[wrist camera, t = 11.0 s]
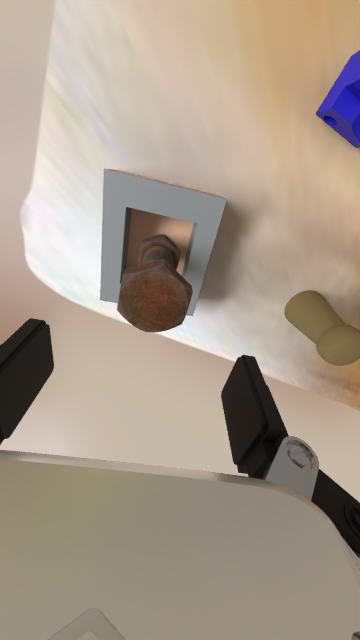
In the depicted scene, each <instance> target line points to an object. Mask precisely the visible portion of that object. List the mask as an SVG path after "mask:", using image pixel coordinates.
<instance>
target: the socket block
mask: <svg viewBox="0 0 360 640" xmlns="http://www.w3.org/2000/svg"><path fill="white" fill-rule="evenodd" d="M226 201H227V200H226V199H224V198H222V197H220V196H218V195H214V194H210V193H206V192H202V191H198V190H194V189H190V188H186V187H182V186H178V185H174V184H170V183H166V182H162V181H158V180H154V179H151V178H147V177H143V176H139V175H135V174H131V173H127V172H123V171H119V170H113V169H104V187H103V221H102V256H101V290H100V300H103V301H109V302H115V303H118V298H119V292H120V286H121V281H122V277H123V273H124V271H125V269H127V268H131V267H135V266H138V265H137V264H138V258H139V253H140V248H141V243H142V240H144V239H147V238H150V237H153V236H155V235H158V234H161V235H163V234H165V235H166V236H167V237H168V238H169V239H170V240H171V241H172V242H173V243H174V244H175V245H176V246H177V247H178V248H179V249H180V251H181V256H180V260H179V264H178V267H177V272H178V273H179V274H180V275H181V276H182V277H183V278H184V279H185V280H186V281H187V282H188V283H189V284H190V285H192V290H193V293H192V297H191V301H190V304H189V307H188V311H187V314H186V315H189V316H193V313H194V310H195V307H196V303H197V300H198V296H199V293H200V290H201V286H202V283H203V279H204V276H205V272H206V269H207V266H208V262H209V259H210V255H211V252H212V248H213V245H214V242H215V238H216V235H217V231H218V228H219V225H220V221H221V218H222V214H223V211H224V207H225V204H226Z"/></svg>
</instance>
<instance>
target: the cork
mask: <svg viewBox="0 0 360 640" xmlns="http://www.w3.org/2000/svg"><path fill="white" fill-rule="evenodd" d="M285 316H286V318H287V319H288V321H289V322H291V323H292V324H293V325H294V326H295V327H296V328H298V329H299V330H300V331H301V332H302V333H303V334H305V335H306V336H307V337H308V338H309V339H310V340H311V341H313V342H314V343H315V344H316V348H317V351H318V354H319V355H320V356H321V357H322V358H323V359H324V360H325V361H326V362H328V363H330V364H333V365H338V366H342V365H347V364H350V363H353V362H355V361H357V360H358V359H359V358H360V331H359V330H358V329H356V328H354V327H352V326H350V325H345V324H344V322H343V321H342V320H341V319H340V317H339V316H338V315H337V314H336V312H335V311H334V310H333V309H332V307H331V306H330V305H329V304H328V303H327V301H326V300H325V299H324V298H323V296H322V295H321V294H320V293H318V292H316V291H303V292H301V293H299V294H297V295H295V296H294V297H293V298H291V300H290V301H289V302H288V303H287V305H286V307H285Z"/></svg>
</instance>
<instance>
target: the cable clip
mask: <svg viewBox="0 0 360 640" xmlns="http://www.w3.org/2000/svg"><path fill="white" fill-rule="evenodd" d="M316 115H317V116H319V117H320V118H321V119H322V120H323V121H325V122H326V123H327V124H328V125H329V126H331V127H332V128H333V129H334V130H335V131H337V132H338V133H339V134H340V135H341V136H343V137H344V138H345V139H346V140H347V141H349V142H350V143H351V144H352V145H353V146H355V147H360V51H358V52H357V53H355V54H354V55H352V56H351V58H350V59H349V61H348V62H347V64H346V66H345V67H344V69H343V70H342V72H341V74H340V75H339V77H338V79H337V80H336V82H335V83H334V85H333V87H332V88H331V90H330V91H329V93H328V95H327V96H326V98H325V99H324V101H323V103H322V104H321V106H320V107H319V109H318V111H317V112H316Z"/></svg>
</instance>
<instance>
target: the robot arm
mask: <svg viewBox="0 0 360 640" xmlns="http://www.w3.org/2000/svg"><path fill="white" fill-rule="evenodd" d="M53 368H54V362H53V353H52V345H51V336H50V327H49V325H48V324H46V322H45V321H44V320H38V319H32V318H31V319H29V320H28V321H27V322H25V323H24V324H23V325H22V326H21V327H20V328H19V329H18V330H17V331H16V332H15V333H14V334H13V335H12V336H11V337H10V338H8V339H7V341H5V342H4V343H3V344H1V345H0V444H1V443H2V441H3V440H4V439H7V438H9V437H10V436H11V434H12V433H13V431H14V430H15V428H16V427H17V425H18V424H19V422H20V421H21V419H22V417H23V416H24V415H25V413H26V411H27V410H28V408H29V407H30V405H31V404H32V402H33V401H34V399H35V398H36V396H37V394H38V393H39V391H40V390H41V389H42V387H43V385H44V384H45V382H46V381H47V379H48V378H49V376H50V375H51V373H52V371H53ZM221 398H222V404H223V409H224V414H225V420H226V425H227V431H228V436H229V441H230V446H231V452H232V458H233V462H234V464H235V465H237V468H238V472H239V473H246V474H248V476H249V477H245V476H237V475H229V474H222V473H215V472H206V471H197V470H188V469H179V468H171V467H162V466H153V465H144V464H134V463H125V462H116V461H107V460H97V459H88V458H78V457H68V456H58V455H49V454H39V453H30V452H18V451H6V450H0V640H360V503H359V502H358V501H357V500H356V499H354V498H353V497H352V496H351V495H350V494H349V493H347V492H346V491H345V490H344V489H343V488H341V487H340V486H339V485H338V484H337V483H335V482H334V481H333V480H332V479H331V478H329V477H328V476H327V475H326V474H325V473H324V472H322V471H321V470H320V469H319V462H318V458H317V456H316V454H315V452H314V451H313V450H312V448H311V447H310V446H309V445H308V444H307V443H305V442H304V441H303V440H301V439H299V438H297V437H294V436H289V435H288V433H287V431H286V428H285V426H284V423H283V421H282V419H281V416H280V414H279V411H278V409H277V407H276V404H275V402H274V400H273V397H272V395H271V392H270V390H269V388H268V386H267V385H266V383H265V381H264V378H263V376H262V373H261V371H260V369H259V366H258V364H257V361H256V359H255V357H253V356H247V355H242V356H241V357H238V359H237V361H236V363H235V365H234V367H233V369H232V371H231V373H230V375H229V377H228V379H227V382H226V384H225V386H224V388H223V390H222V394H221Z"/></svg>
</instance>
